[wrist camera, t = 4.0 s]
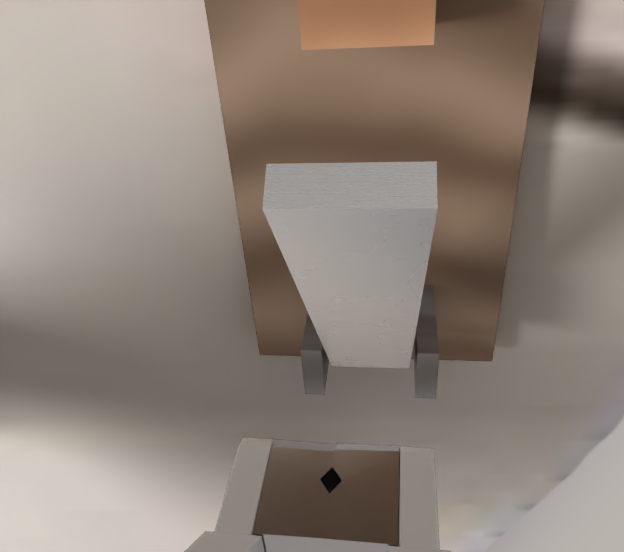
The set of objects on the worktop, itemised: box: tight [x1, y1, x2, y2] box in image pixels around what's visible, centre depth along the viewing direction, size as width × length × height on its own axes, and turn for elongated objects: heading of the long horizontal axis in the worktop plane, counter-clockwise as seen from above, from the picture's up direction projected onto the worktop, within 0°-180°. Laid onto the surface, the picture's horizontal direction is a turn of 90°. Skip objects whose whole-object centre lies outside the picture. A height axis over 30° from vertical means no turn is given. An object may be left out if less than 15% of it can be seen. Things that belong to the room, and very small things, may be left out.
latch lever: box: [262, 161, 438, 369], centre depth 22 cm, size 18×4×1 cm
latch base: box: [204, 0, 544, 398], centre depth 27 cm, size 26×14×7 cm, turn 4°
